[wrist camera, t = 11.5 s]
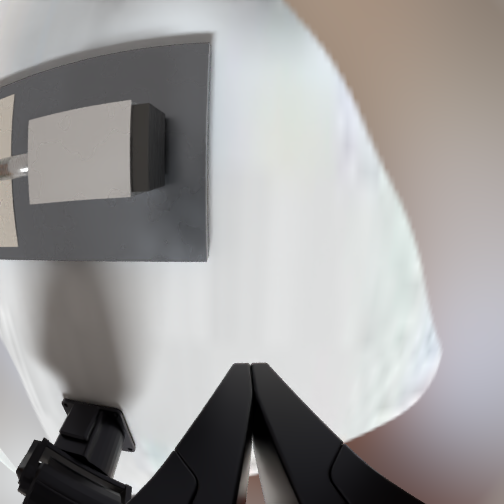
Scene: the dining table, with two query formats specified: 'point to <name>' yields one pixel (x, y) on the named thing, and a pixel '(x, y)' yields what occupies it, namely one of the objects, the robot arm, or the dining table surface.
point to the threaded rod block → (92, 153)
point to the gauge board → (127, 208)
